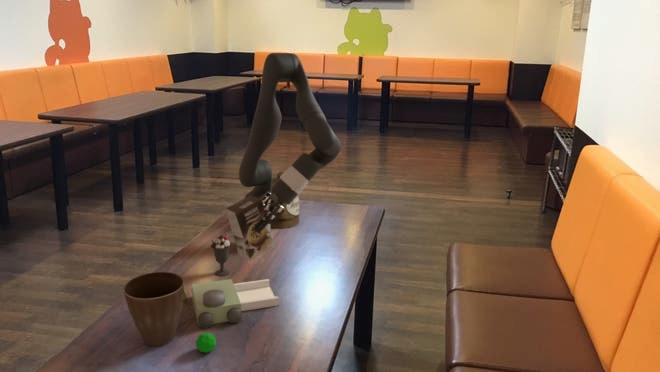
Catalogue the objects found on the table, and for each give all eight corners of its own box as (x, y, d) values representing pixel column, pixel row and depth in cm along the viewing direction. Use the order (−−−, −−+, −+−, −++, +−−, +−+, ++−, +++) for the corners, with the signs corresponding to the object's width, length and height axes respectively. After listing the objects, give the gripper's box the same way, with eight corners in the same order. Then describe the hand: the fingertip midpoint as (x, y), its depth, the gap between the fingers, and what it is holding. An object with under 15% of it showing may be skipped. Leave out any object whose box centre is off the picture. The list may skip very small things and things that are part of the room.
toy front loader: (192, 296, 166) (190, 274, 164) (268, 285, 174) (268, 264, 171) (198, 329, 148) (197, 305, 146) (284, 315, 156) (283, 292, 154)
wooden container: (297, 228, 222) (297, 177, 216) (261, 228, 222) (260, 176, 216) (300, 216, 236) (300, 167, 230) (266, 215, 236) (265, 167, 230)
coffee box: (251, 261, 157) (237, 214, 150) (238, 254, 161) (224, 208, 154) (275, 246, 162) (262, 199, 155) (262, 240, 166) (249, 194, 159)
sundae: (236, 270, 184) (234, 229, 179) (224, 278, 178) (222, 236, 174) (220, 267, 186) (218, 226, 182) (208, 274, 181) (206, 232, 176)
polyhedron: (192, 353, 138) (191, 337, 136) (203, 343, 142) (202, 327, 141) (209, 358, 136) (208, 341, 135) (220, 347, 140) (219, 331, 139)
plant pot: (155, 362, 134) (150, 304, 129) (116, 343, 141) (110, 288, 137) (199, 334, 146) (196, 280, 141) (161, 318, 153) (157, 267, 149)
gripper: (274, 171, 164) (238, 211, 163) (287, 183, 151) (248, 227, 151) (291, 186, 167) (256, 225, 167) (306, 199, 155) (267, 242, 154)
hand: (252, 226), depth 159 cm, fingers closed on coffee box, 8 cm apart
